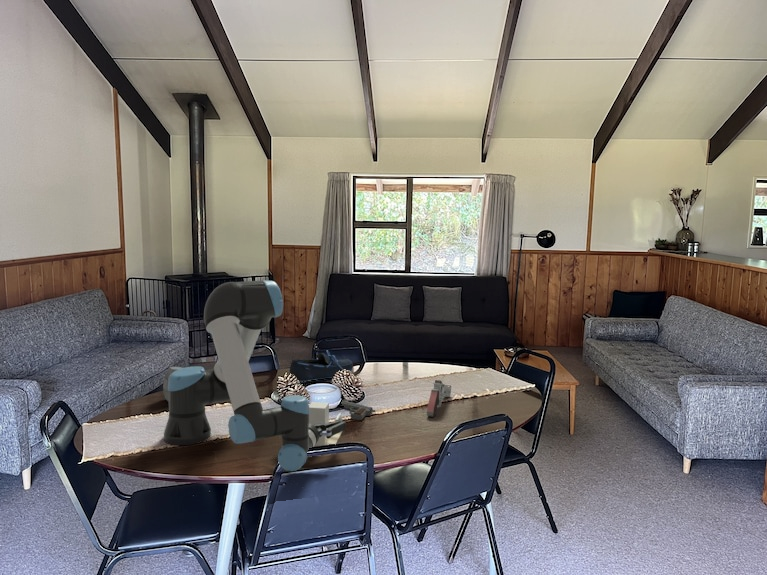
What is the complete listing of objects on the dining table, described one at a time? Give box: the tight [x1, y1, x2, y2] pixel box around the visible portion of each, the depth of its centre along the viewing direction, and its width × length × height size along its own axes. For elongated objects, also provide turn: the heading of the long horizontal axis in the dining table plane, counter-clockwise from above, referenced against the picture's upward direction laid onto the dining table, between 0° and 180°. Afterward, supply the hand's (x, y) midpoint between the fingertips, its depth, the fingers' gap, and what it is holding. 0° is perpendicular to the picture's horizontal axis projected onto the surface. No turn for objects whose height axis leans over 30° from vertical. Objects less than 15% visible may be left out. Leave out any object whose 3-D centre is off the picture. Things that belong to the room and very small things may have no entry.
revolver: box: [426, 379, 452, 418], centre depth 233 cm, size 4×29×15 cm, turn 161°
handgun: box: [341, 399, 376, 421], centre depth 224 cm, size 3×18×12 cm
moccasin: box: [289, 349, 354, 381], centre depth 274 cm, size 14×34×12 cm, turn 134°
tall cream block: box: [309, 401, 330, 446], centre depth 189 cm, size 6×6×13 cm
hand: (320, 415), depth 192 cm, fingers open, 13 cm apart
